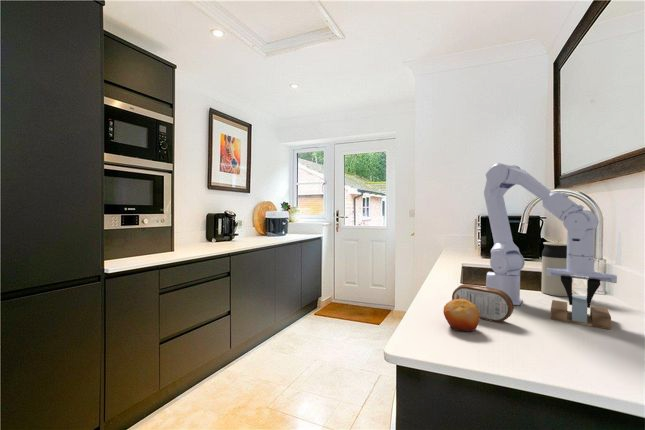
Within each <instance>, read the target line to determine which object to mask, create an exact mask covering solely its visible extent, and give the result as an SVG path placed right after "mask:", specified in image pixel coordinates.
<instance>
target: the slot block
mask: <svg viewBox="0 0 645 430" xmlns="http://www.w3.org/2000/svg"><path fill="white" fill-rule="evenodd" d="M550 320H554V321H560V322H565V323H571V324H577V325H583V326H587V327H588V326H589V327H593V328H594V327H595V328H601V329H606V330H612V317H611V313H610V311H609V309H608V307H604V306H597V305H591V304H590V308H589V313H587V323H583V322H577V321H572V310H568V301H562V300H555V299H552V300H551V306H550Z"/></svg>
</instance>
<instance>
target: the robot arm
mask: <svg viewBox="0 0 645 430" xmlns="http://www.w3.org/2000/svg"><path fill="white" fill-rule="evenodd" d="M485 178H486V181H485V186H484V191H483V195H484V200H485V205H486V210H487V216H488V219H489V225H490V230H491V233H492V239H493V246H492V248H491V249H490V259H489V265H490V268H491V269H492V271H487V272H486V279H485V287H488V288H494V289H499V290H501V291H503V292H505V293H506V294H507V295H508V296H509V297H510V298H511V300H512V302H513V306H514V305H515V306H521V303H522V301H523V298H521V297H520V295H521V294H520V293H521V292H520V291H521V270H523V268H524V267H525V263H526V262H525V258H524V256H523V255H522V254H521V252H520V248H519V247H518V246H517V245H516V244H515V243H514V241H513V240H514V239H513V235H512V230H511V225H510V221H509V216H508V212H507V211H508V210H507V208H506V203H505V197H504V196H505V194H506V193H507V192H508V191H509V190H510V189H511V188H513V187H514V186H516V185H517V186H521V187H522V188H524V189H525V190H526V191H528V192H529V193H531V194H533V195H534V196H535V197H536V198H538V199H539V200H541V201H542V207H543V208H544V209H546V210H547V211H548V212H549V213H550V214H552V215H553V216H554V217H555V218H557V219H558V220H560V221H561V222H562V224H563V227H564V228H565V229H566V230H567V237H566V243H567V269H554V268H547V276H559V277H561V282H562V284H563V286H564V288H565V290H566V292H567V295H568V296H567V299H568V304H569V306H572V295H573V279H577V280H578V279H579V280H586V281H587V282H586V284H587V285H586V288H587V289H586V299H587V309H590V305H591V303H592V300H593V297H594V296H595V294H596V292H597V290H598V289H599V287H600V286H601V282H606V283H613V284H617V283H618V282H617V281H618V275H617V274H616V273H615V274H614V273H605V272H596V271H595V240H596V239H595V229H596V228H597V227H598V226H599V222H600V221H599V217H598V216H597V215H596V214H595V213H594V212H593V211H591V210H589V209H588V210H585V207H584V206H583V205H582V204H577V203H576V202H574V201H573V200H572V199H570V198H569V197H570V195H569V194H568V193H566V192H560V191H555V192H554V191H551V190H550V189H548V187H546V186H545V185H543V184H542V183H541V182H540V181H539V180H538V179H537V178H535V177H533V175H531V174H530V173H529V172H528V171H526V170H524V169H522V168H521V167H520V166H518V165H515V164H514V165H510V164H504V163H500V162H498V163H497V162H496V163H495V164H493V165H492V166H491V167H489V169H488V170H487V172H486V173H485Z"/></svg>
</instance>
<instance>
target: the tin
mask: <svg viewBox="0 0 645 430" xmlns="http://www.w3.org/2000/svg"><path fill="white" fill-rule="evenodd" d="M454 299H467V300H468V301H470V302H471V303H473V304H474V305H476V306H477V308H478V311H479V313H480V318H479V319H482V320H486V321H490V322H494V323H495V322H496V323H500V322H504V321H506V320H507V319H508V318H510V317H511V316H512V315H513V313H514V309H515V308H514V305H513V302H512V300H511V298H510V297H509V296H508V295H507V294H506V293H505V292H503V291H501V290H499V289H494V288H488V287H486V286H481V285H476V284H470V283H465V284H461V285H459V286H458V287H457V288H455V289H454V290H453V292H452V295H451V300H454Z"/></svg>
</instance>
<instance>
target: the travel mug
mask: <svg viewBox="0 0 645 430" xmlns="http://www.w3.org/2000/svg"><path fill="white" fill-rule="evenodd" d="M542 243H543V245H544V248H543V250H542V252H541V257H542V258H541V286H540V287H541V290H540V291H541V292H542V293H543V294H545V293H546V294H545V295H548V294H550V295H549V296H552V295H554V297H562V296H563V297H568V295H567V292H566V290H565V288H564V286H563V284H562V282H561V277H559V276H547V268H554V269H567V242H557V241H556V242H553V241H551V242H550V241H545V242H542Z"/></svg>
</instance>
